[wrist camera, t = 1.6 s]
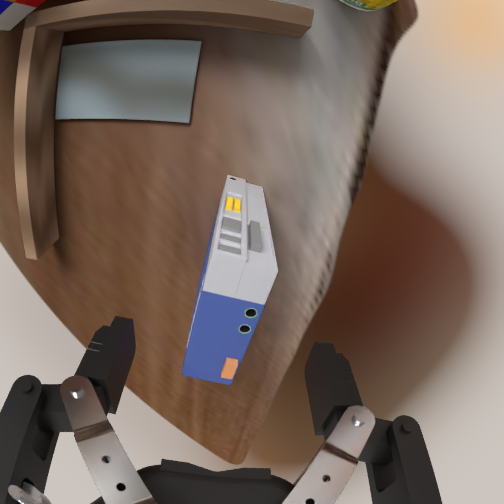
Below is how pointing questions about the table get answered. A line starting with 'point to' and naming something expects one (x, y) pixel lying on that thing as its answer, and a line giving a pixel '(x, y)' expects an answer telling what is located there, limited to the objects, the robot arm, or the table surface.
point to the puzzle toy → (15, 11)
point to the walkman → (231, 284)
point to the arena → (111, 81)
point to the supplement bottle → (368, 4)
